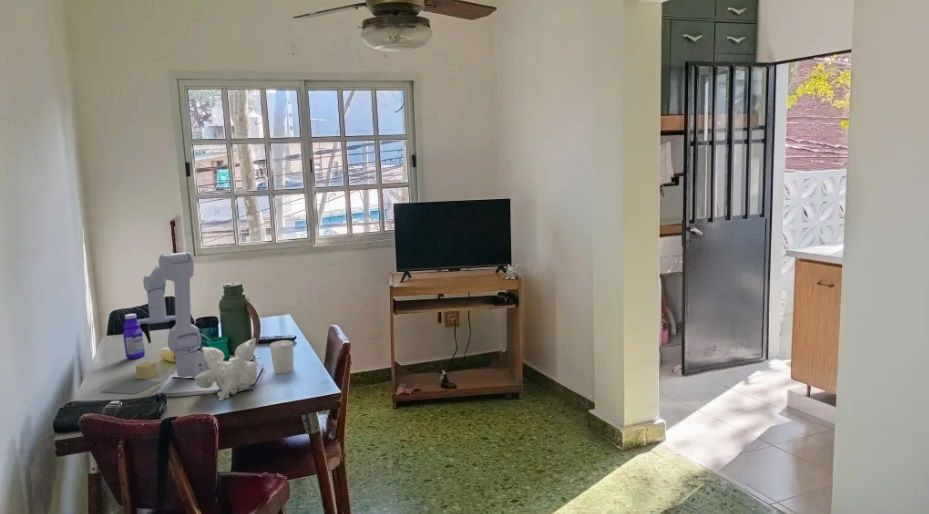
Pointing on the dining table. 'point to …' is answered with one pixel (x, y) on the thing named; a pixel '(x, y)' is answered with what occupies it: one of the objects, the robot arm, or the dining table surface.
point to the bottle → (133, 338)
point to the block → (146, 370)
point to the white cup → (282, 356)
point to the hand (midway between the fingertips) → (160, 341)
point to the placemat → (131, 386)
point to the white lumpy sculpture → (229, 370)
